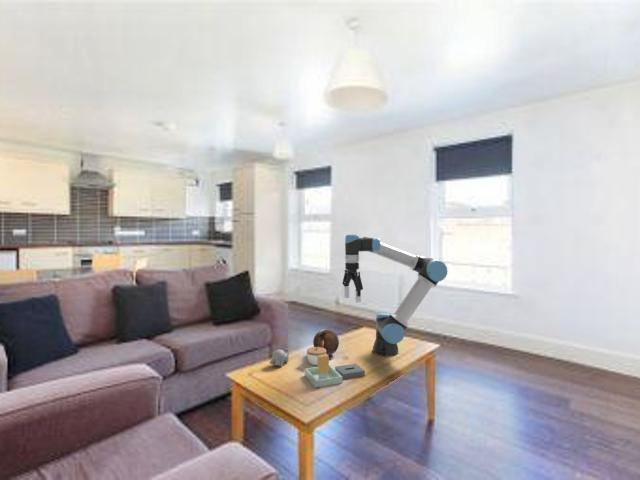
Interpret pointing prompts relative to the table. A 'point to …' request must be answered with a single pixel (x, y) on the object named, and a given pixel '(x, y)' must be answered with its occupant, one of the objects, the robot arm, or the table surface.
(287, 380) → the table surface
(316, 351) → the lidded jar
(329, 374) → the parts tray
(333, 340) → the wooden sphere
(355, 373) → the socket block
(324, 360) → the fuse
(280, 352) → the toy rhinoceros
